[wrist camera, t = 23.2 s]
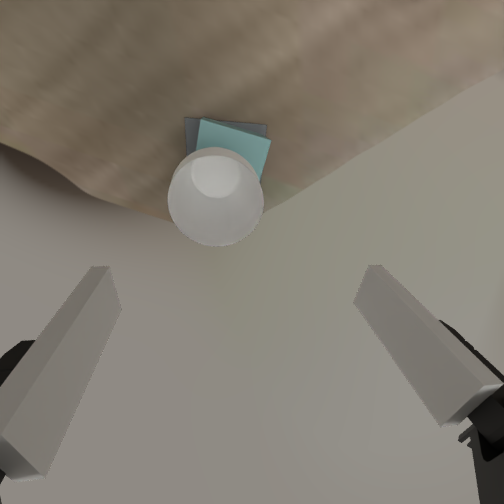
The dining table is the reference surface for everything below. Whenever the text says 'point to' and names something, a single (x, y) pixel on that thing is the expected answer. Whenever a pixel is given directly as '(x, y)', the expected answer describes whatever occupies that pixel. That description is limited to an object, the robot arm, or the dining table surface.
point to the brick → (234, 141)
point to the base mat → (194, 124)
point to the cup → (215, 197)
